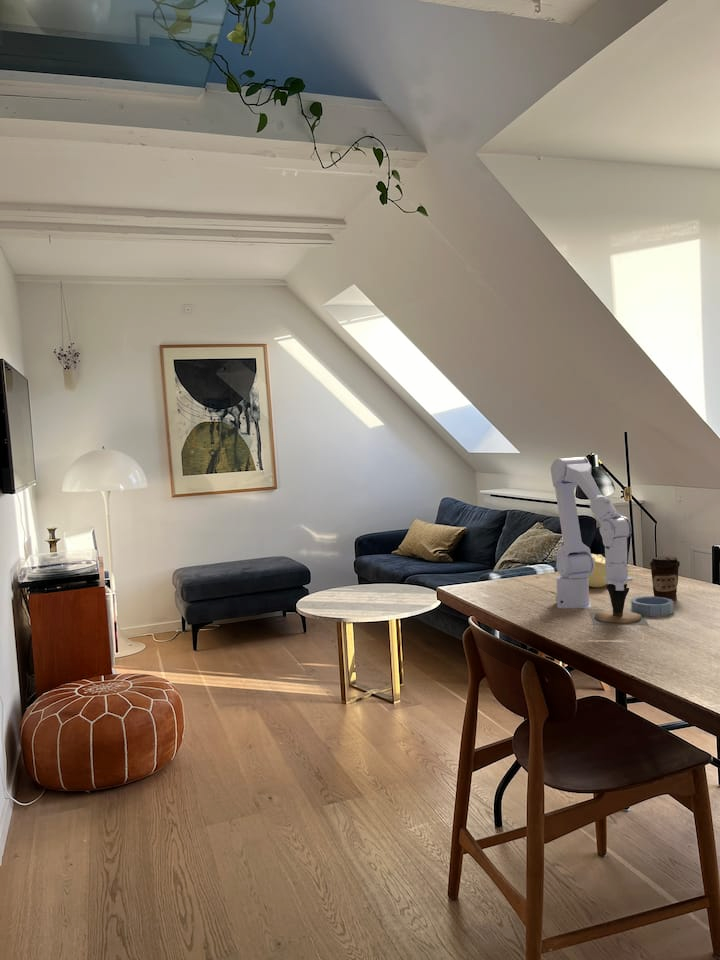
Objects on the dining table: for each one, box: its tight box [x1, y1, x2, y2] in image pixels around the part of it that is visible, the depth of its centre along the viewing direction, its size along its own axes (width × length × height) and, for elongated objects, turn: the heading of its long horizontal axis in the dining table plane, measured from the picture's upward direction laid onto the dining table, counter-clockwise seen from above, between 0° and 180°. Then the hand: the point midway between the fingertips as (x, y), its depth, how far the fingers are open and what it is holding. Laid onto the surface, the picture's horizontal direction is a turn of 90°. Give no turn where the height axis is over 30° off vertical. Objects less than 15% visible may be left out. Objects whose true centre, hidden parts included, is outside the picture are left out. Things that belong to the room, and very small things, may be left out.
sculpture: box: [588, 553, 609, 588], centre depth 254 cm, size 12×12×11 cm
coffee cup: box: [649, 556, 681, 602], centre depth 228 cm, size 9×8×13 cm
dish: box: [630, 595, 675, 617], centre depth 215 cm, size 11×11×4 cm
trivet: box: [588, 611, 650, 626], centre depth 210 cm, size 14×14×1 cm
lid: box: [595, 609, 641, 624], centre depth 209 cm, size 12×12×6 cm
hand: (617, 611), depth 209 cm, fingers closed on lid, 3 cm apart
